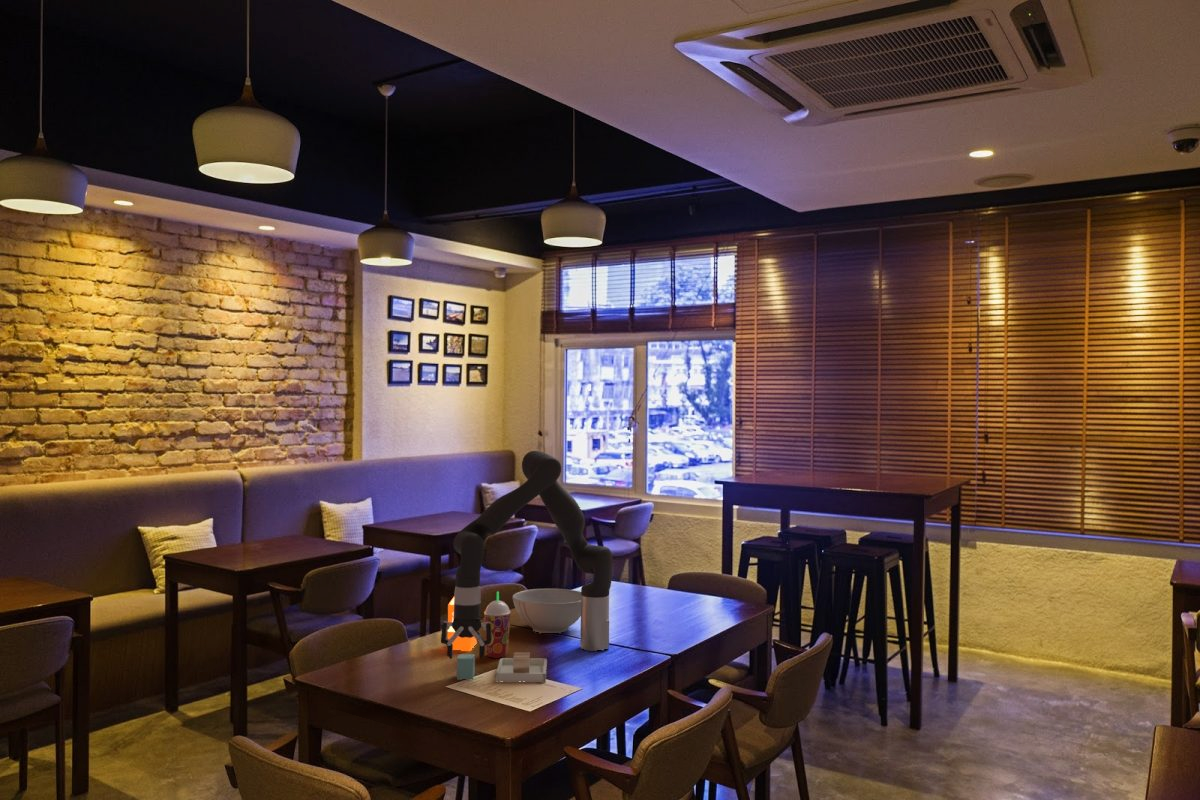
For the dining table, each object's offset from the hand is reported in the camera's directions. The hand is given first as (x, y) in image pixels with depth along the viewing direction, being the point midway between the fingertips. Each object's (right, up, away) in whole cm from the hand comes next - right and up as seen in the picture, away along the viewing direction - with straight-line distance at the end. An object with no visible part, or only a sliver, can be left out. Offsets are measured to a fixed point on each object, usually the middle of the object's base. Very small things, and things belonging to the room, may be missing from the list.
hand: (465, 658), depth 253 cm
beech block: (+16, -5, 0) cm, 17 cm away
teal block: (0, -6, 0) cm, 6 cm away
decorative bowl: (+21, -7, +58) cm, 62 cm away
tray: (+16, -6, +4) cm, 17 cm away
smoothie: (+6, -6, +23) cm, 25 cm away
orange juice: (-6, -6, +33) cm, 34 cm away
